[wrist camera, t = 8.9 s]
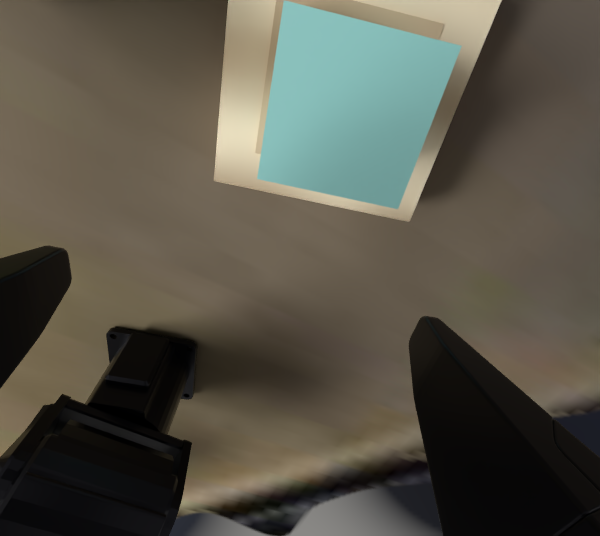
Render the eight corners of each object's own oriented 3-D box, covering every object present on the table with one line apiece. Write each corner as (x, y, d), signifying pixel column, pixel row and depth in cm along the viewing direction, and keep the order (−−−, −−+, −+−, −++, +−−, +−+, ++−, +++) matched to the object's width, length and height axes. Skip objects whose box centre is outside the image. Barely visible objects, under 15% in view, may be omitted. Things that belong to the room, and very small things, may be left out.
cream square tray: (400, 202, 21) (409, 222, 18) (224, 164, 20) (213, 181, 18) (484, -16, 15) (512, -23, 13) (247, -80, 14) (235, -100, 12)
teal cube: (377, 164, 17) (397, 209, 13) (272, 140, 17) (257, 178, 12) (419, 40, 14) (461, 45, 10) (293, 8, 14) (283, 0, 10)
